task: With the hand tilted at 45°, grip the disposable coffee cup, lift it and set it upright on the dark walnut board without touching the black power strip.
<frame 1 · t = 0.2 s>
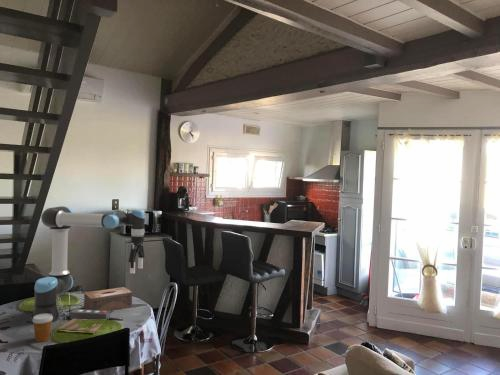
hand: (136, 270, 241), 28 cm above the table, tool pointing down, fingers open, 13 cm apart
tissue box cover: (108, 308, 256), on the table
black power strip: (90, 318, 237), on the table
disposable coffee cup: (42, 339, 204), on the table
walnut board: (83, 327, 222), on the table
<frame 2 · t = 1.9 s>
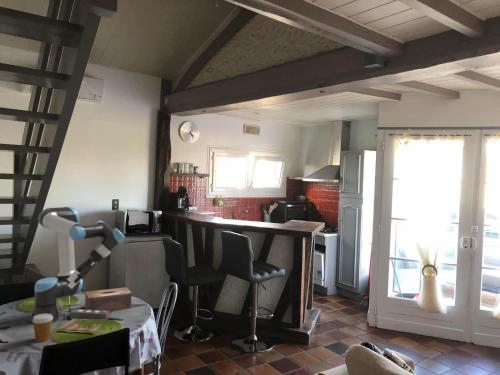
hand: (69, 284, 209), 27 cm above the table, tool tilted 45°, fingers open, 13 cm apart
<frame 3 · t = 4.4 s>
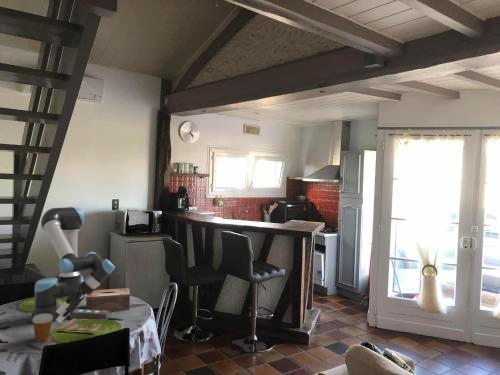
hand: (57, 317, 206), 11 cm above the table, tool tilted 45°, fingers open, 13 cm apart
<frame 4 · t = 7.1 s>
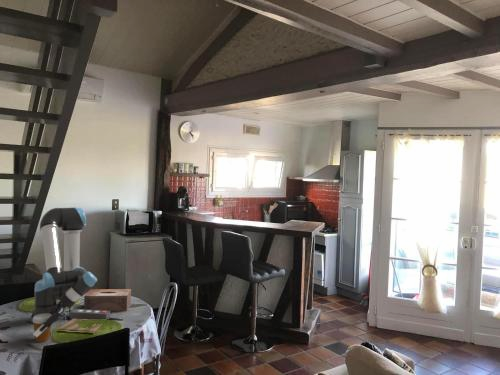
hand: (35, 331, 203), 4 cm above the table, tool tilted 45°, fingers closed on disposable coffee cup, 9 cm apart
disposable coffee cup: (42, 339, 204), on the table, touching gripper
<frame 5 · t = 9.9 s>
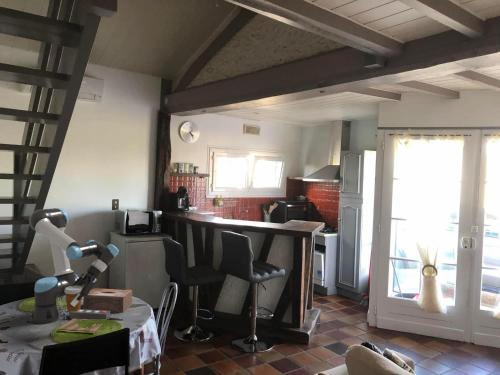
hand: (68, 303, 213), 16 cm above the table, tool tilted 45°, fingers closed on disposable coffee cup, 9 cm apart
disposable coffee cup: (73, 310, 216), point 12 cm above the table, touching gripper
when the fingers open (7 cm above the table, at t = 13.0 s): disposable coffee cup drops 1 cm, resting on walnut board.
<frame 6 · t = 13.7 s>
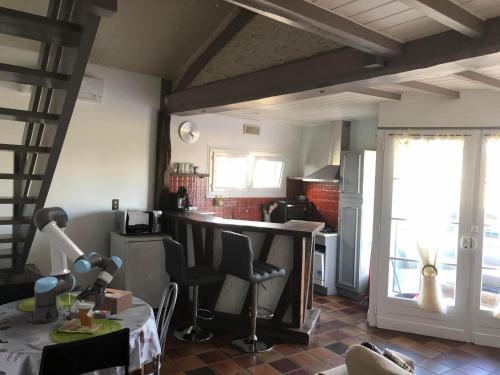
hand: (80, 313, 220), 8 cm above the table, tool tilted 45°, fingers open, 13 cm apart
disposable coffee cup: (86, 325, 222), point 1 cm above the table, touching gripper, walnut board
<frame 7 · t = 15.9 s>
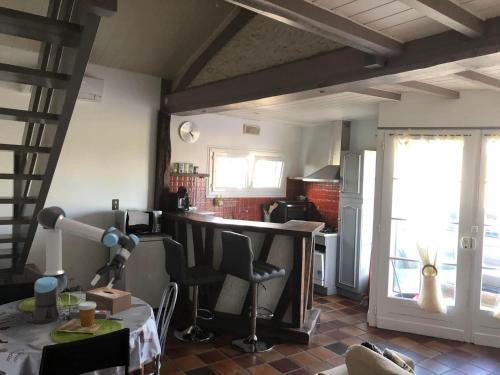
hand: (99, 286, 232), 20 cm above the table, tool tilted 45°, fingers open, 13 cm apart
disposable coffee cup: (86, 325, 222), point 1 cm above the table, touching walnut board
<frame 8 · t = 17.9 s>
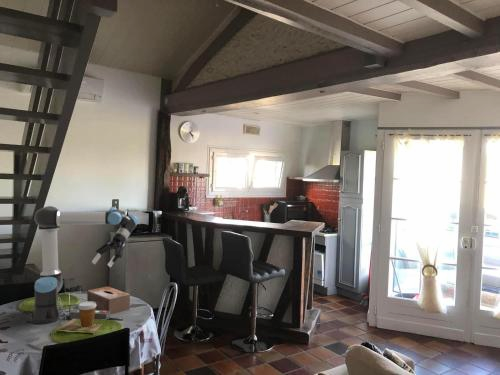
hand: (100, 264, 237), 32 cm above the table, tool tilted 45°, fingers open, 13 cm apart
at the end: disposable coffee cup inside the target area on the walnut board (2.4 cm from its centre), point 1.3 cm above the walnut board's base; disposable coffee cup tilted 0°; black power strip moved 0.0 cm from its start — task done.
